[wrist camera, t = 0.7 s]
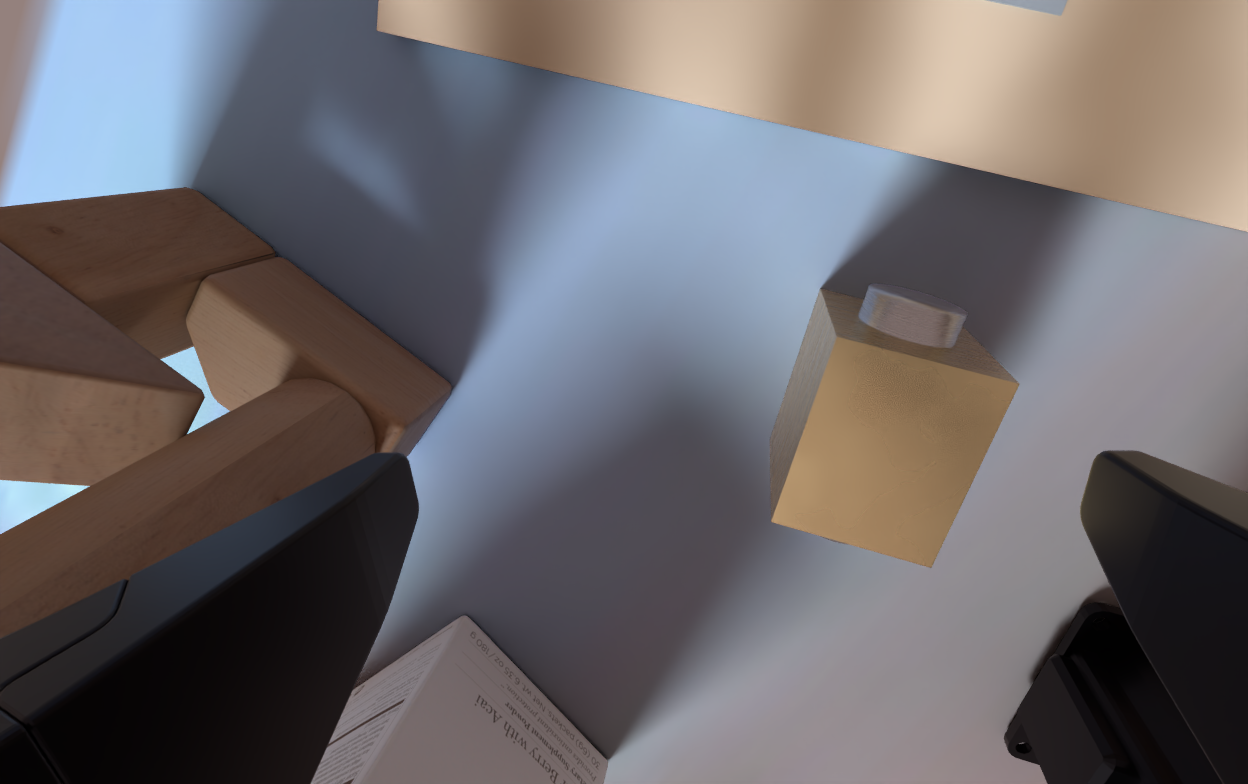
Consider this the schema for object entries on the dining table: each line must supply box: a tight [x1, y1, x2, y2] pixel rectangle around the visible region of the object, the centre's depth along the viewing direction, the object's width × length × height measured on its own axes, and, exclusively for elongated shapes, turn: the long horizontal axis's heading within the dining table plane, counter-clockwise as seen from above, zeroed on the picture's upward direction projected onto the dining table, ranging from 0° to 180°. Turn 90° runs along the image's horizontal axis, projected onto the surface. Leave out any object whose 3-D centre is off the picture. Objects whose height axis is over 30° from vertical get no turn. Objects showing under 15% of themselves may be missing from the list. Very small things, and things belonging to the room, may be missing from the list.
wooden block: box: [0, 187, 452, 638], centre depth 15 cm, size 4×11×18 cm, turn 54°
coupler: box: [770, 283, 1019, 568], centre depth 18 cm, size 7×4×5 cm, turn 168°
